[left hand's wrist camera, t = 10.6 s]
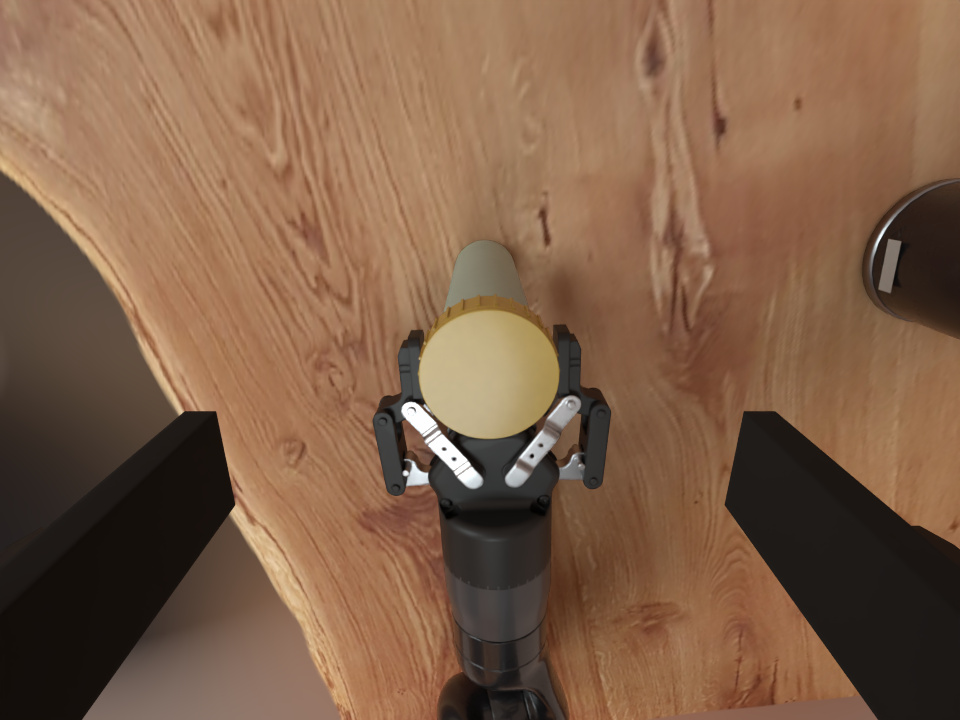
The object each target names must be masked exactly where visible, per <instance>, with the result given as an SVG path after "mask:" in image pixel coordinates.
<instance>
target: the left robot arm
mask: <svg viewBox="0 0 960 720" xmlns="http://www.w3.org/2000/svg"><path fill="white" fill-rule="evenodd" d="M234 506H235V501H234V496H233V491H232V486H231V481H230V476H229V472H228V467H227V462H226V457H225V452H224V447H223V442H222V438H221V433H220V428H219V423H218V418H217V413H216V411H185V412H183V413H182V414H181V415H180V416H179V417H178V418H176V419H175V420H174V421H173V422H172V423H170V424H169V425H168V426H167V427H166V428H165V429H163V430H162V431H161V432H160V433H159V434H157V435H156V436H155V437H154V438H153V439H151V440H150V441H149V442H148V443H147V444H146V445H144V446H143V447H142V448H141V449H140V450H138V451H137V452H136V453H135V454H134V455H132V456H131V457H130V458H129V459H128V460H127V461H125V462H124V463H123V464H122V465H121V466H119V467H118V468H117V469H116V470H115V471H114V472H112V473H111V474H110V475H109V476H108V477H106V478H105V479H104V480H103V481H102V482H100V483H99V484H98V485H97V486H96V487H95V488H93V489H92V490H91V491H90V492H89V493H87V494H86V495H85V496H84V497H83V498H81V499H80V500H79V501H78V502H77V503H76V504H74V505H73V506H72V507H71V508H70V509H68V510H67V511H66V512H65V513H64V514H62V515H61V516H60V517H59V518H58V519H57V520H55V521H54V522H53V523H52V524H51V525H49V526H48V527H47V528H40V529H38V530H36V531H34V532H32V533H30V534H29V535H27V536H25V537H23V538H21V539H20V540H18V541H16V542H14V543H12V544H11V545H9V546H7V547H6V548H5V549H3V550H2V551H1V552H0V720H82V719H83V717H84V716H85V715H86V713H87V712H88V710H89V709H90V708H91V706H92V705H93V703H94V702H95V701H96V699H97V698H98V696H99V695H100V694H101V692H102V691H103V689H104V688H105V687H106V685H107V684H108V682H109V681H110V680H111V678H112V677H113V675H114V674H115V673H116V671H117V670H118V668H119V667H120V666H121V664H122V663H123V661H124V660H125V659H126V657H127V656H128V655H129V653H130V652H131V650H132V649H133V648H134V646H135V645H136V643H137V642H138V641H139V639H140V638H141V636H142V635H143V633H144V632H145V631H146V629H147V628H148V626H149V625H150V624H151V622H152V621H153V619H154V618H155V617H156V615H157V614H158V612H159V611H160V610H161V608H162V607H163V606H164V604H165V603H166V601H167V600H168V598H169V597H170V596H171V594H172V593H173V591H174V590H175V589H176V587H177V586H178V584H179V583H180V582H181V580H182V579H183V578H184V576H185V575H186V573H187V572H188V571H189V569H190V568H191V566H192V565H193V563H194V562H195V561H196V559H197V558H198V557H199V555H200V554H201V552H202V551H203V549H204V548H205V547H206V545H207V544H208V543H209V541H210V540H211V538H212V537H213V536H214V534H215V533H216V531H217V530H218V529H219V527H220V526H221V524H222V523H223V522H224V520H225V519H226V517H227V516H228V515H229V513H230V512H231V510H232V509H233V508H234ZM725 506H726V508H727V509H728V510H729V512H730V513H731V515H732V516H733V517H734V519H735V520H736V522H737V523H738V524H739V526H740V527H741V529H742V530H743V531H744V533H745V534H746V536H747V537H748V538H749V540H750V541H751V543H752V544H753V545H754V547H755V548H756V550H757V551H758V552H759V554H760V555H761V557H762V558H763V559H764V561H765V562H766V564H767V565H768V566H769V568H770V569H771V571H772V572H773V573H774V575H775V576H776V578H777V579H778V580H779V582H780V583H781V585H782V586H783V587H784V589H785V590H786V592H787V593H788V594H789V596H790V597H791V599H792V600H793V601H794V603H795V604H796V606H797V607H798V608H799V610H800V611H801V613H802V614H803V615H804V617H805V618H806V620H807V621H808V622H809V624H810V625H811V627H812V628H813V629H814V631H815V632H816V634H817V635H818V636H819V638H820V639H821V641H822V642H823V643H824V645H825V646H826V648H827V649H828V650H829V652H830V653H831V655H832V656H833V657H834V659H835V660H836V662H837V663H838V664H839V666H840V667H841V669H842V670H843V671H844V673H845V674H846V676H847V677H848V678H849V680H850V681H851V683H852V684H853V685H854V687H855V688H856V690H857V691H858V692H859V694H860V695H861V696H862V698H863V699H864V701H865V702H866V703H867V705H868V706H869V708H870V709H871V710H872V712H873V713H874V715H875V716H876V717H877V719H878V720H960V549H959V548H957V547H956V546H955V545H953V544H952V543H950V542H948V541H946V540H944V539H943V538H941V537H939V536H937V535H935V534H933V533H932V532H930V531H928V530H926V529H924V528H923V527H921V526H911V525H909V524H908V523H907V522H906V521H905V520H903V519H902V518H901V517H900V516H899V515H898V514H896V513H895V512H894V511H893V510H892V509H890V508H889V507H888V506H887V505H886V504H884V503H883V502H882V501H881V500H880V499H879V498H877V497H876V496H875V495H874V494H873V493H871V492H870V491H869V490H868V489H867V488H866V487H864V486H863V485H862V484H861V483H860V482H858V481H857V480H856V479H855V478H854V477H852V476H851V475H850V474H849V473H848V472H847V471H845V470H844V469H843V468H842V467H841V466H839V465H838V464H837V463H836V462H835V461H833V460H832V459H831V458H830V457H829V456H828V455H826V454H825V453H824V452H823V451H822V450H820V449H819V448H818V447H817V446H816V445H814V444H813V443H812V442H811V441H810V440H809V439H807V438H806V437H805V436H804V435H803V434H801V433H800V432H799V431H798V430H797V429H796V428H794V427H793V426H792V425H791V424H790V423H788V422H787V421H786V420H785V419H784V418H782V417H781V416H780V415H779V414H778V413H777V412H775V411H744V413H743V418H742V423H741V428H740V433H739V438H738V442H737V447H736V452H735V457H734V462H733V467H732V472H731V476H730V481H729V486H728V491H727V496H726V501H725Z"/></svg>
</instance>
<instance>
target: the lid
mask: <svg viewBox="0 0 960 720" xmlns="http://www.w3.org/2000/svg"><path fill="white" fill-rule="evenodd" d="M552 341H553V339H552V336H551V334H550V331H549V329H548V327H547V328H545V326H544V324H543V323H542V321H541V318H540V316H539V315H537V316H536V315H535V314H534V313H533V312H532V311H531V310H529V308H528V306H527V305H526V304H525V306H524V305H522V304H520V303H518V302H516V301H514V300H513V298H511V297H510V299H507V298H504V297H498V296H497V294H494V296H480V295H477V297H474V298H470V299H466V300H464V299H461V302H459V303H457V304H455V305H454V306H452V307H449V306H448V307H447V309H446V311H445V312H444V313H443V314H442V315H441V316H440V317H439V318H438V317H436V318H435V321H434V324H433V326H432V328H431V330H430V331H429V330H428V331H427V333H426V337H425V340H424V343H423V344H424V345H423V346H422V349H421V352H420V355H419V360H420V364H419V370H418V376H419V385H420V390H421V393H422V396H423V398H424V400H425V402H426V404H427V406H428V408H429V409H430V410H431V412H432V413H433V414H434V415H435V416H436V418H437V419H438V420H440V421H441V422H442V423H443V424H444V425H446V426H447V427H449V428H450V429H452V430H454V431H456V432H458V433H460V434H463V435H466V436H469V437H473V438H480V439H497V438H504V437H508V436H512V435H514V434H517V433H520V432H522V431H524V430H526V429H527V428H529V427H530V426H532V425H533V424H534V423H536V422H537V421H538V420H539V419H540V418H541V417H542V416H543V415H544V414H545V413H546V411H547V410H548V408H549V407H550V406H551V404H552V402H553V400H554V398H555V395H556V392H557V389H558V385H559V375H560V368H559V363H558V358H557V357H558V356H559V355H558V352H557V349H556V347H555V344H554V342H552Z"/></svg>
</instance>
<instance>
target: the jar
mask: <svg viewBox="0 0 960 720" xmlns="http://www.w3.org/2000/svg"><path fill="white" fill-rule="evenodd" d="M494 294H497V296H498V297H504V298H507V299H510V297H511V298H513V300H514V301H516V302H518V303H520V304H522V305H524V306H525V304H526V305H527V306H528V303H527V300H526V297H525V294H524V291H523V288H522V285H521V282H520V279H519V276H518V273H517V270H516V267H515V264H514V261H513V258H512V256H511V254H510V253H509V252H508V250H507V249H506V248H505V247H503V246H502V245H501V244H499V243H497V242H494V241H490V240H480V241H476V242H473V243H471V244H469V245H468V246H466V247H465V248H464V249H463V250H462V251H461V252H460V254H459V255H458V257H457V260H456V263H455V267H454V271H453V275H452V279H451V284H450V288H449V292H448V296H447V300H446V304H445V308H444V312H445V311H446V309H447V307H448V306H449V307H452V306H454V305H455V304H457V303H459V302H461V299H464V300H466V299H470V298H474V297H477V295H480V296H494ZM528 308H529V306H528ZM529 310H530V309H529ZM444 312H443V313H444Z"/></svg>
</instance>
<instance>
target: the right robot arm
mask: <svg viewBox="0 0 960 720" xmlns="http://www.w3.org/2000/svg"><path fill="white" fill-rule="evenodd" d="M862 275H863V282H864V286H865V289H866V291H867V294H868V295H869V297H870V299H871V300H872V301H873V303H874V304H875V305H876V306H877V307H878V308H880V309H881V310H882V311H884V312H886V313H887V314H890V315H892V316H895V317H897V318H900V319H903V320H906V321H911V322H915V323H918V324H921V325H923V326H926V327H929V328H931V329H934V330H936V331H939V332H941V333H944V334H947V335H949V336H952V337H955V338H957V339H960V178H954V179H946V180H940V181H937V182H933V183H931V184H928V185H925V186H923V187H921V188H919V189H917V190H915V191H913V192H912V193H910V194H909V195H907V196H906V197H904V198H903V199H902V200H900V201H899V202H898V203H897V204H896V205H895V206H893V207H892V208H891V209H890V210H889V211H888V213H887V214H886V215H885V216H884V217H883V218H882V220H881V221H880V222H879V224H878V225H877V227H876V228H875V230H874V232H873V233H872V235H871V237H870V239H869V242H868V244H867V247H866V250H865V254H864V259H863V267H862ZM553 342H554V344H555V347H556V349H557V352H558V355H559V356H558V357H557V358H558V363H559V368H560V375H559V385H558V389H557V392H556V395H555V398H554V400H553V402H552V404H551V406H550V407H549V408H548V410H547V411H546V413H545V414H544V415H543V416H542V417H541V418H540V419H539V420H538V421H537V422H536V423H534V424H533V425H532V426H530V427H529V428H527V429H526V430H524V431H522V432H520V433H517V434H514V435H512V436H508V437H504V438H497V439H480V438H473V437H469V436H466V435H463V434H460V433H458V432H456V431H454V430H452V429H450V428H449V427H447V426H446V425H444V424H443V423H442V422H441V421H440V420H438V419H437V418H436V416H435V415H434V414H433V413H432V412H431V410H430V409H429V408H428V406H427V404H426V402H425V400H424V398H423V396H422V393H421V390H420V385H419V376H418V370H419V364H420V360H419V355H420V352H421V349H422V346H423V345H424V344H423V343H424V333H423V330H411V332H410V334H409V337H408V340H404V341H403V343H402V345H401V348H400V351H399V354H398V362H399V371H400V381H401V390H402V392H401V393H400V394H397V395H395V396H390V395H388V396H384V397H383V398H382V399H381V401H380V403H379V407H378V410H377V412H376V413H375V415H374V418H373V426H374V431H375V435H376V440H377V445H378V450H379V455H380V460H381V465H382V469H383V474H384V479H385V484H386V489H387V491H388V493H390V494H391V495H394V496H399V495H401V494H403V493H404V491H405V488H406V487H407V486H418V485H429V484H430V486H431V487H432V488H433V490H434V491H435V493H436V495H437V497H438V504H439V516H440V527H441V538H442V549H443V560H444V571H445V581H446V588H447V592H448V596H449V600H450V603H451V609H452V621H453V632H454V645H455V652H456V657H457V660H458V664H459V666H460V668H461V670H462V671H463V672H461V673H458V674H456V675H454V676H453V677H451V678H450V679H449V680H448V681H447V682H446V684H445V685H444V687H443V689H442V691H441V693H440V696H439V700H438V705H437V720H569V709H568V703H567V700H566V696H565V693H564V690H563V687H562V685H561V683H560V680H559V678H558V676H557V673H556V671H555V669H554V666H553V664H552V660H551V657H550V653H549V648H548V642H547V601H548V595H549V590H550V583H551V504H552V491H553V488H554V487H555V485H556V484H557V482H558V480H583V482H584V485H585V486H586V487H587V488H589V489H596V488H598V487H600V486H601V484H602V482H603V474H604V466H605V458H606V450H607V442H608V434H609V426H610V417H611V410H610V408H609V406H608V404H607V402H606V400H605V398H604V396H603V394H602V393H601V391H600V390H599V389H597V388H589V389H588V388H585V387H582V386H580V371H581V348H580V345H579V343H578V341H577V339H576V337H575V335H574V334H570V332H569V330H568V328H567V326H566V324H563V325H554V326H553ZM576 413H579V414H581V424H580V434H579V444H578V445H577V444H574V445H573V446H572V447H571V448H570V449H569V451H568V454H567V456H566V457H565V458H564V459H561V460H557V459H556V457H555V455H554V454H553V453H552V452H551V450H550V449H551V448H552V447H553V446H554V444H555V443H556V442H557V441H558V439H559V438H560V435H561V432H562V430H563V428H564V427H565V426H566V425H567V424H568V422H569V421H570V420H571V419H572V418H573V416H574V415H575V414H576ZM406 419H407V420H408V421H409V422H410V423H411V424H412V425H413V426H414V427H415V428H416V429H417V430H418V431H419V432H420V433H421V434H422V436H423V438H424V441H425V443H426V444H427V445H428V447H429V448H430V449H431V450H432V451H433V452H434V453H435V454H436V455H435V456H434V458H433V459H432V460H431V462H430V465H425V464H423V463H421V462H420V461H419V459H418V456H417V455H416V454H415V453H414V452H413V451H408V452H407V446H406V441H405V435H404V430H403V424H402V421H403V420H406Z"/></svg>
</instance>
